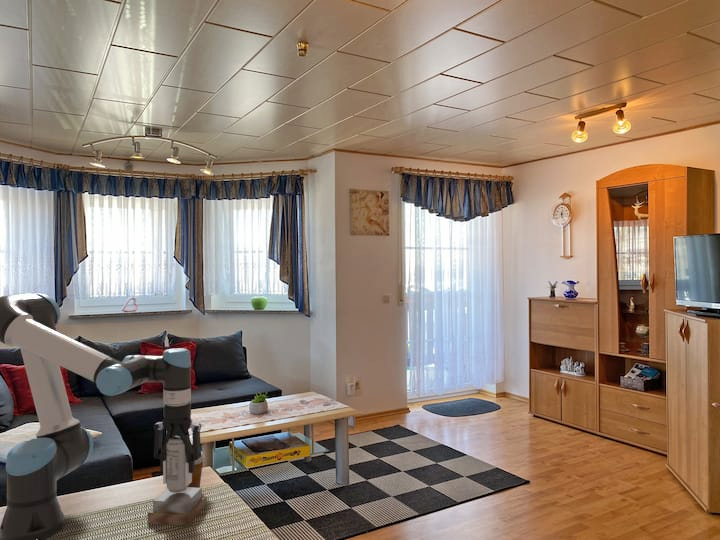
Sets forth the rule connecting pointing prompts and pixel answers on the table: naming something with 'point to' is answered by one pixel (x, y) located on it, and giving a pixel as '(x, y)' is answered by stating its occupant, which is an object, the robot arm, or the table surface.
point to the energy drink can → (176, 465)
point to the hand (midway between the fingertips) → (177, 482)
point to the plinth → (177, 516)
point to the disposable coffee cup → (197, 472)
